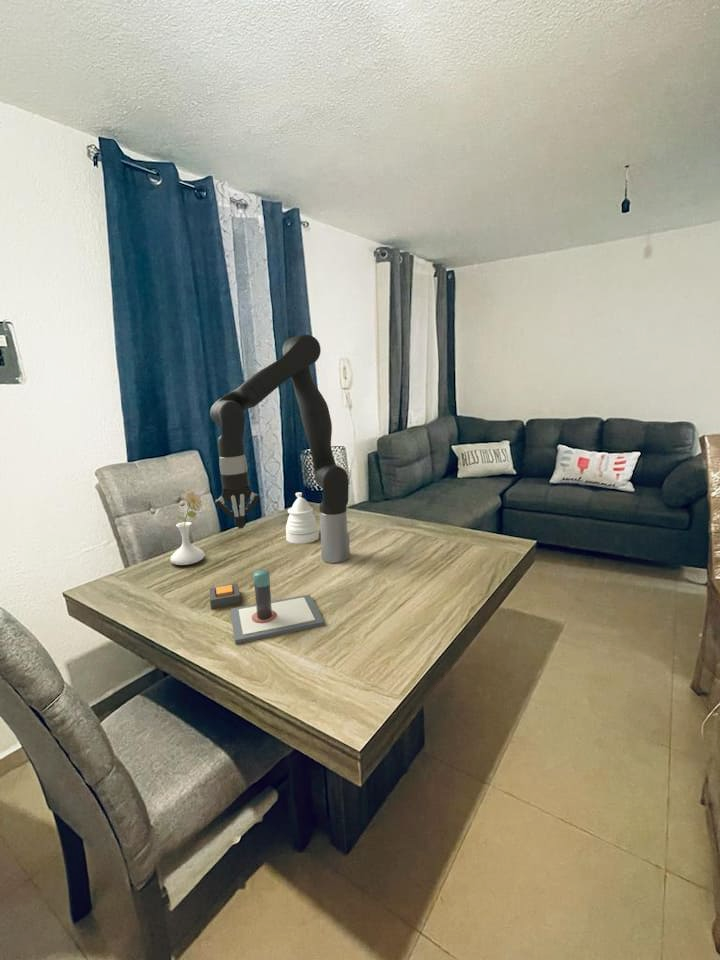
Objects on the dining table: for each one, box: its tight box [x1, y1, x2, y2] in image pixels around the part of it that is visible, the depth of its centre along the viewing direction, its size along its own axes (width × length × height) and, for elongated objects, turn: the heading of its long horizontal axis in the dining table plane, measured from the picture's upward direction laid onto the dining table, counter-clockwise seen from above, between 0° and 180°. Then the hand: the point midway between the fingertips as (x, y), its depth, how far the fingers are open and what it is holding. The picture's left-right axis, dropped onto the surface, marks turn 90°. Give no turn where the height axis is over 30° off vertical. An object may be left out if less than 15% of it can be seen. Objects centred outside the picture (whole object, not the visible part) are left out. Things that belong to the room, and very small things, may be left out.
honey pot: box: [285, 491, 320, 545], centre depth 174 cm, size 13×13×18 cm
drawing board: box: [230, 594, 325, 645], centre depth 116 cm, size 22×16×1 cm
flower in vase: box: [169, 490, 206, 566], centre depth 153 cm, size 13×11×25 cm
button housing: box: [209, 582, 242, 610], centre depth 127 cm, size 8×8×3 cm
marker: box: [252, 569, 272, 620], centre depth 114 cm, size 4×4×12 cm
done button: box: [215, 584, 233, 597], centre depth 127 cm, size 4×4×2 cm
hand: (240, 527), depth 131 cm, fingers closed
